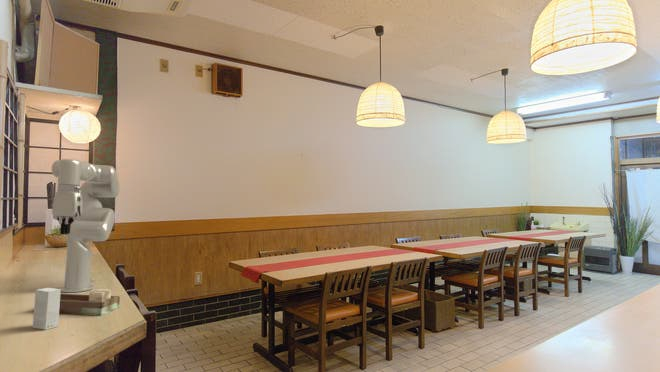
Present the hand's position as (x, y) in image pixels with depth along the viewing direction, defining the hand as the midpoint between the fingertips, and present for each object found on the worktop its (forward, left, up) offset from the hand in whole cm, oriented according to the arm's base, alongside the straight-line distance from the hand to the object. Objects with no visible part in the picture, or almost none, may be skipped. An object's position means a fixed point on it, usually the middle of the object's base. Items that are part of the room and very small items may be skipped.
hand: (65, 233), depth 155 cm
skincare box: (+31, +20, -27) cm, 46 cm away
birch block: (+11, +24, -25) cm, 36 cm away
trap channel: (+11, +16, -27) cm, 33 cm away
